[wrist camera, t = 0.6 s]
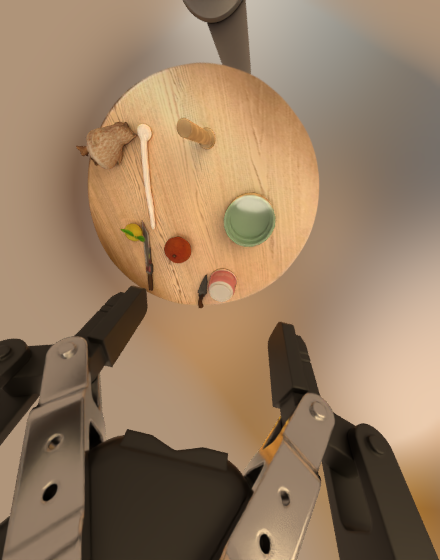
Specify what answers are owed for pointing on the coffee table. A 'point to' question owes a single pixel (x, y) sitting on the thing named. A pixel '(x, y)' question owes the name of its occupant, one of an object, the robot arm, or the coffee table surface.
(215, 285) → the container
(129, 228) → the lemon
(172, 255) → the fruit
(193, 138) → the stick
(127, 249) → the coffee table surface
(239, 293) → the coffee table surface
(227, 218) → the bowl
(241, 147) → the coffee table surface
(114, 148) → the figurine
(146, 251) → the knife
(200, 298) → the knife
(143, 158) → the cream knobbed rod
